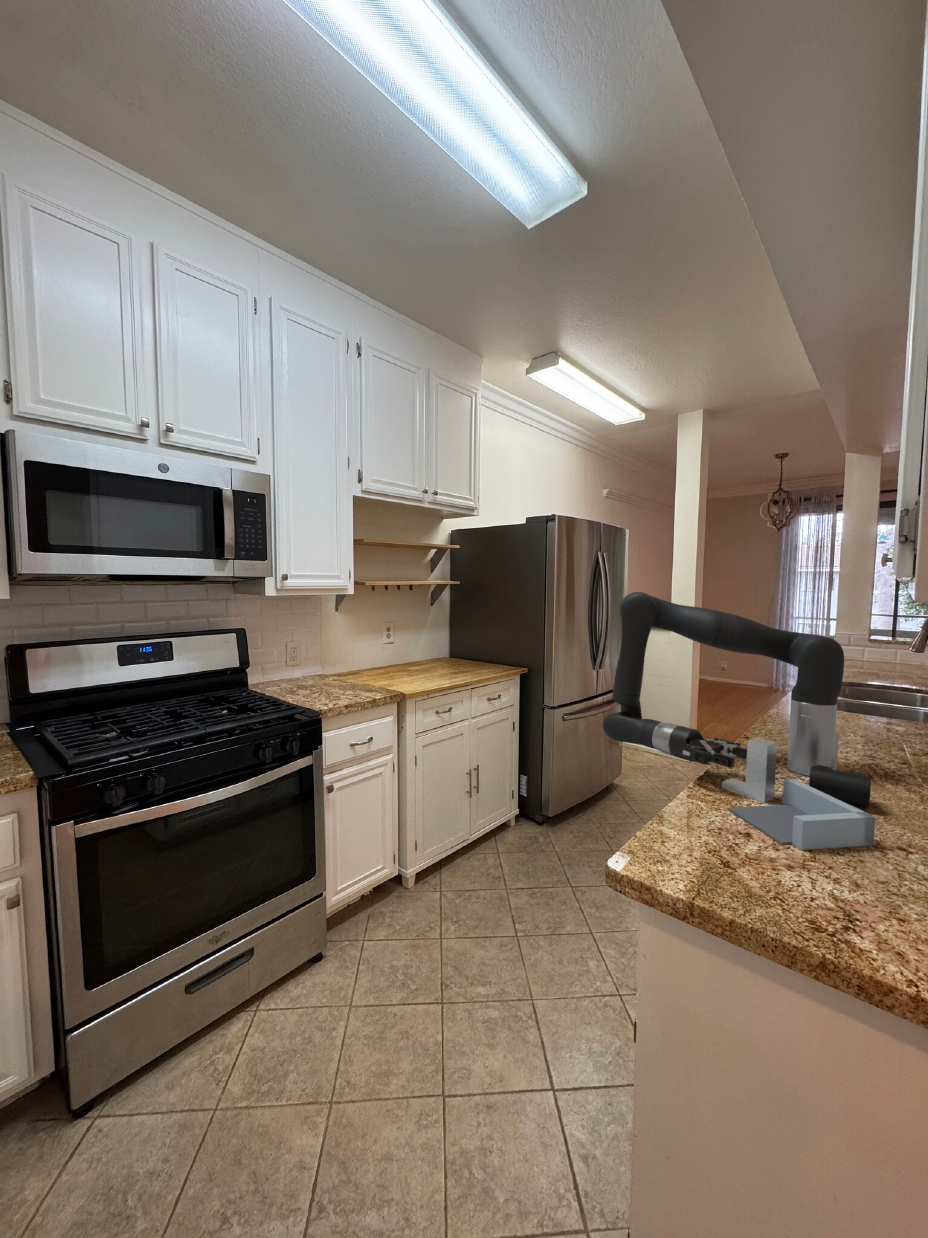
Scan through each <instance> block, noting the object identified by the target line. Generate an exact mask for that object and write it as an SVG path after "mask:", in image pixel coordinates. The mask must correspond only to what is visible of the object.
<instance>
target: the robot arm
mask: <svg viewBox="0 0 928 1238" xmlns="http://www.w3.org/2000/svg"><path fill="white" fill-rule="evenodd" d="M619 615H620V617H621V618H620V619H621V620H620V621H621V642H620V643H621V644H620V651H619V655H618V660H617V664H616V670H615V674H614V680H613V687H612V688H613V690H612V700H613V701H614V702H615V703H617V704H618V705H620V711H618V712H617V711H616V712H612V713H609V714H607V715H606V716H605V717H604V718H603V720H602V729H603V732H604V734H605V735H606V736H607V737H609V738H610V739H612V741H613V740H614V741H617V742H621V743H627V744H635V745H641V746H644V747H647V748H651V749H653V750H656V751H659V752H661V753H663V754H667V755H669V756H673V757H676V758H679V759H682V760H685V761H689V762H692V761H694V762H695V763H699V764H702V765H704V766H705V765H708V763H709V764H711V765H719V766H722V767H726V768H729V769H732V768H734V767H735V758H734V757H736V758H739V759H743V760H746V761H747V748H745V747H742V746H741V743H740V742H735V741H730V740H726V739H723V738H719V737H714V738H713V739H712V738H705V739H704V737H703V735H702V733H701V732H700V731H699V729H696V728H691V727H687V726H683V725H679V724H676V723H673V722H672V723H670V722H665V721H664V722H663V721H659V720H655V719H652V718H643V715H642V707H641V706H642V705H641V700H640V698H641V693H642V685H643V677H644V666H645V658H646V651H647V646H648V642H649V641H648V640H649V637H650V635H651V634H650V633H651V630H652V628H655V629H660V630H665V631H668V632H672V633H675V634H677V635H680V636H681V637H684V638H686V639H688V640H691V641H692V642H693V641H694V642H697V643H699V644H701V645H705V646H708V647H712V648H716V649H720V650H723V651H727V652H733V653H739V654H746V655H747V654H748V655H755V656H764V657H768V658H771V659H775V660H777V661H780V662H783V663H785V664H789V665H791V666H794V667H797V676H796V682H795V685H794V686H792V689H791V691H790V692H791V694H790V708H789V709H790V710H789V711H790V713H789V726H788V727H789V729H788V732H789V733H788V746H787V764H786V766H787V769H788V770H790V771H791V772H794V773H796V774H800V775H803V776H808V777H810V769H811V766H815V765H822V766H827V767H828V766H829V767H832V770H836V771H838V755H839V743H840V742H839V739H840V738H839V737H840V736H839V734H836V732H837V731H836V728H837V712H838V711H837V710H838V699H839V696H840V694H841V691H842V687H843V679H844V670H845V669H844V668H845V652H844V649H843V647H842V645H841V644H840V643H839V642H838V641H837V640H835V639H834V638H831V637H829V636H824V635H821V634H820V635H819V634H815V633H814V634H813V633H802V632H796V631H795V632H794V631H790V630H789V631H788V630H783V629H778V628H774V627H770V626H768V625H766V624H762V623H760V622H759V621H756V620H752V619H751V618H747V617H744V616H741V615H737V614H733V613H729V612H724V611H721V610H715V609H710V608H705V607H699V606H689V605H682V604H678V603H674V602H670V601H668V600H665V599H661V598H659V597H655V596H653V595H651V594H649V593H646V592H643V591H633V592H631V593H628V594H627V595H625V597H624V598H622V600H621V601H620V606H619Z"/></svg>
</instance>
